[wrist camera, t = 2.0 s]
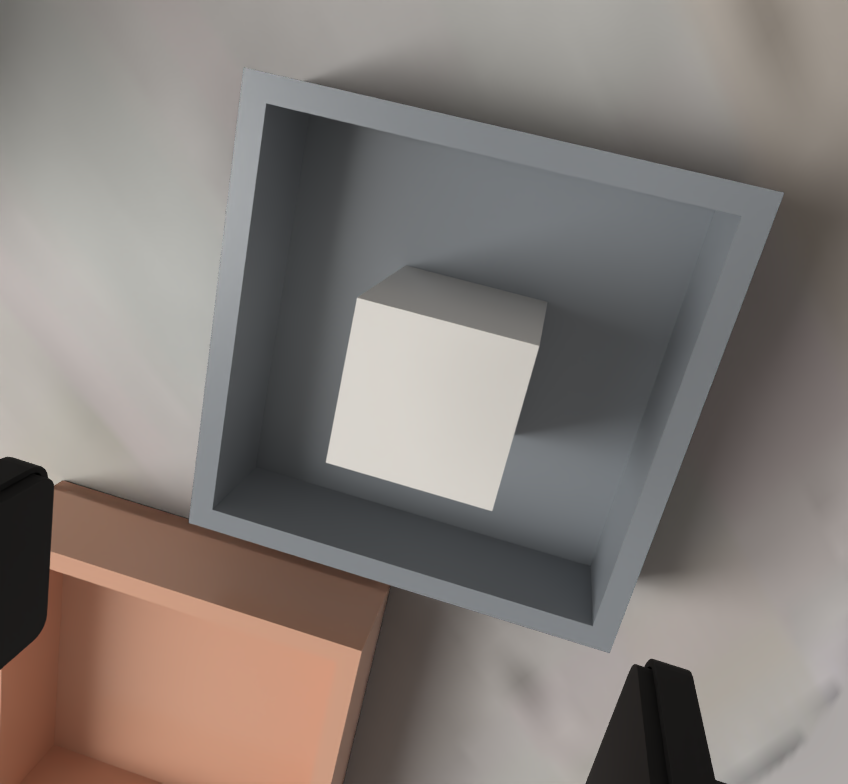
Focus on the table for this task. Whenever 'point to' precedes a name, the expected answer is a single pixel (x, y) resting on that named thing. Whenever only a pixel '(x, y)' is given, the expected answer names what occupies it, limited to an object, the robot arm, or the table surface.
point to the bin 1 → (185, 657)
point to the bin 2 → (486, 265)
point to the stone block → (435, 383)
